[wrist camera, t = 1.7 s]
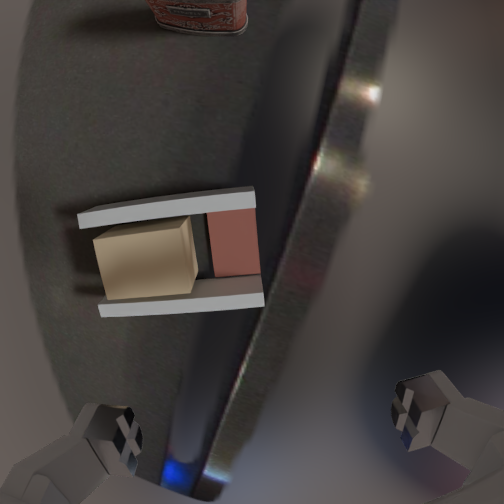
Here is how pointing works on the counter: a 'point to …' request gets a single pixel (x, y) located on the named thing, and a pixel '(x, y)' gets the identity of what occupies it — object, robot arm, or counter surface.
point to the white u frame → (203, 291)
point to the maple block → (147, 258)
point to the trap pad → (234, 242)
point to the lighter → (201, 16)
